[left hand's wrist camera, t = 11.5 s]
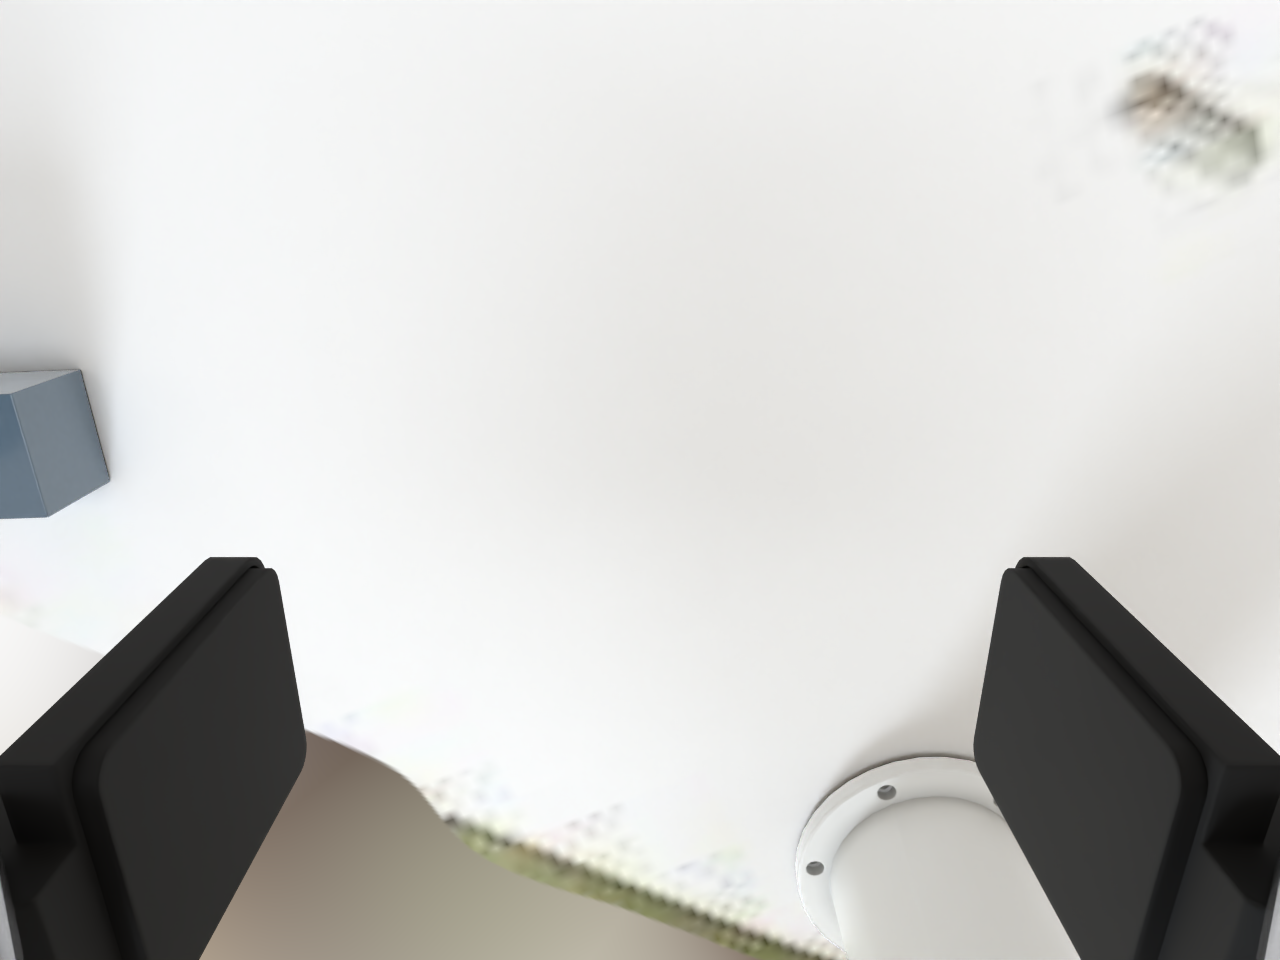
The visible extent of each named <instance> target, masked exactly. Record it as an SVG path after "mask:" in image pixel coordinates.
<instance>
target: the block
mask: <svg viewBox="0 0 1280 960" xmlns="http://www.w3.org/2000/svg"><path fill="white" fill-rule="evenodd" d="M108 482H110V479H109V476H108V472H107V468H106V464H105V461H104V457H103V453H102V449H101V446H100V442H99V438H98V434H97V431H96V427H95V423H94V420H93V416H92V412H91V408H90V405H89V401H88V397H87V393H86V390H85V386H84V382H83V378H82V375H81V371H80V370H57V371H31V372H4V373H0V519H16V518H45V517H49V516H51V515H53V514H55V513H56V512H58V511H60V510H62V509H63V508H65V507H67V506H69V505H70V504H72V503H74V502H75V501H77V500H79V499H81V498H82V497H84V496H86V495H88V494H89V493H91V492H93V491H95V490H96V489H98V488H100V487H101V486H103V485H105V484H107V483H108Z"/></svg>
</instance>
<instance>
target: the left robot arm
mask: <svg viewBox="0 0 1280 960" xmlns="http://www.w3.org/2000/svg"><path fill="white" fill-rule="evenodd" d="M305 757H306V736H305V730H304V724H303V719H302V713H301V707H300V701H299V695H298V689H297V684H296V678H295V672H294V666H293V660H292V655H291V649H290V643H289V637H288V631H287V626H286V620H285V614H284V608H283V602H282V597H281V591H280V585H279V580H278V576H277V574H276V572H275V570H273V569H272V568H264V565H263V564H262V562H261V560H259V559H258V558H257V557H210V558H208V559H207V560H205V561H204V562H203V563H202V564H201V565H200V566H199V567H198V568H197V569H196V570H195V571H194V572H192V573H191V574H190V575H189V576H188V577H187V578H186V579H185V580H184V581H183V582H182V583H181V584H180V585H179V586H178V587H177V588H176V589H175V590H174V591H173V592H171V593H170V594H169V595H168V596H167V597H166V598H165V599H164V600H163V601H162V602H161V603H160V604H159V605H158V606H157V607H156V608H155V609H154V610H153V611H152V612H150V613H149V614H148V615H147V616H146V617H145V618H144V619H143V620H142V621H141V622H140V623H139V624H138V625H137V626H136V627H135V628H134V629H133V630H132V631H131V632H130V633H128V634H127V635H126V636H125V637H124V638H123V639H122V640H121V641H120V642H119V643H118V644H117V645H116V646H115V647H114V648H113V649H112V650H111V651H110V652H109V653H107V654H106V655H105V656H104V657H103V658H102V659H101V660H100V661H99V662H98V663H97V664H96V665H95V666H94V667H93V668H92V669H91V670H90V671H89V672H88V673H86V674H85V675H84V676H83V677H82V678H81V679H80V680H79V681H78V682H77V683H76V684H75V685H74V686H73V687H72V688H71V689H70V690H69V691H68V692H67V693H66V694H64V695H63V696H62V697H61V698H60V699H59V700H58V701H57V702H56V703H55V704H54V705H53V706H52V707H51V708H50V709H49V710H48V711H47V712H46V713H45V714H44V715H42V716H41V717H40V718H39V719H38V720H37V721H36V722H35V723H34V724H33V725H32V726H31V727H30V728H29V729H28V730H27V731H26V732H25V733H24V734H23V735H21V737H19V738H18V739H17V740H16V741H15V742H14V743H13V744H12V745H11V746H10V747H9V748H8V749H7V750H6V751H5V752H4V753H3V754H2V755H0V960H199V959H200V957H201V955H202V953H203V951H204V950H205V948H206V946H207V944H208V942H209V940H210V939H211V937H212V935H213V933H214V931H215V929H216V927H217V926H218V924H219V922H220V920H221V918H222V916H223V915H224V913H225V911H226V909H227V907H228V905H229V903H230V902H231V900H232V898H233V896H234V894H235V892H236V891H237V889H238V887H239V885H240V883H241V881H242V880H243V878H244V876H245V874H246V872H247V870H248V868H249V867H250V865H251V863H252V861H253V859H254V857H255V855H256V854H257V852H258V850H259V848H260V846H261V844H262V842H263V841H264V839H265V837H266V835H267V833H268V832H269V830H270V828H271V826H272V824H273V822H274V820H275V819H276V817H277V815H278V813H279V811H280V809H281V807H282V806H283V804H284V802H285V800H286V798H287V796H288V795H289V793H290V791H291V789H292V787H293V785H294V784H295V782H296V780H297V778H298V776H299V774H300V772H301V770H302V768H303V765H304V762H305ZM974 757H975V762H973V761H970V760H963V759H956V758H949V757H918V758H913V759H907V760H901V761H895V762H892V763H889V764H886V765H883V766H880V767H877V768H874V769H871V770H869V771H867V772H865V773H863V774H861V775H859V776H857V777H856V778H854V779H852V780H850V781H848V782H847V783H845V784H844V785H843V786H841V787H840V788H839V789H837V790H836V791H835V792H834V793H832V794H831V795H830V796H829V797H828V798H827V799H826V800H825V801H824V802H823V803H822V804H821V805H820V806H819V808H818V809H817V810H816V811H815V812H814V813H813V815H812V817H811V818H810V820H809V822H808V823H807V825H806V827H805V828H804V830H803V832H802V835H801V838H800V841H799V844H798V847H797V852H796V862H795V872H796V878H797V885H798V890H799V894H800V898H801V901H802V905H803V908H804V910H805V912H806V913H807V915H808V917H809V919H810V921H811V922H812V924H813V925H814V926H815V927H816V929H817V930H818V931H819V932H820V933H821V934H822V935H823V936H824V937H825V939H827V940H828V941H830V942H831V943H832V944H834V945H835V946H836V947H838V948H839V949H840V950H842V951H844V952H846V955H847V959H848V960H1280V755H1278V754H1277V753H1276V752H1275V751H1274V750H1273V749H1272V748H1271V747H1270V746H1269V745H1268V744H1267V743H1266V742H1265V741H1264V740H1263V739H1262V738H1261V737H1260V736H1259V735H1258V734H1256V733H1255V732H1254V731H1253V730H1252V729H1251V728H1250V727H1249V726H1248V725H1247V724H1246V723H1245V722H1244V721H1243V720H1242V719H1241V718H1240V717H1239V716H1238V715H1237V714H1235V713H1234V712H1233V711H1232V710H1231V709H1230V708H1229V707H1228V706H1227V705H1226V704H1225V703H1224V702H1223V701H1222V700H1221V699H1220V698H1219V697H1218V696H1217V695H1216V694H1214V693H1213V692H1212V691H1211V690H1210V689H1209V688H1208V687H1207V686H1206V685H1205V684H1204V683H1203V682H1202V681H1201V680H1200V679H1199V678H1198V677H1197V676H1196V675H1195V674H1194V673H1192V672H1191V671H1190V670H1189V669H1188V668H1187V667H1186V666H1185V665H1184V664H1183V663H1182V662H1181V661H1180V660H1179V659H1178V658H1177V657H1176V656H1175V655H1174V654H1173V653H1171V652H1170V651H1169V650H1168V649H1167V648H1166V647H1165V646H1164V645H1163V644H1162V643H1161V642H1160V641H1159V640H1158V639H1157V638H1156V637H1155V636H1154V635H1153V634H1152V633H1150V632H1149V631H1148V630H1147V629H1146V628H1145V627H1144V626H1143V625H1142V624H1141V623H1140V622H1139V621H1138V620H1137V619H1136V618H1135V617H1134V616H1133V615H1132V614H1131V613H1130V612H1128V611H1127V610H1126V609H1125V608H1124V607H1123V606H1122V605H1121V604H1120V603H1119V602H1118V601H1117V600H1116V599H1115V598H1114V597H1113V596H1112V595H1111V594H1110V593H1109V592H1107V591H1106V590H1105V589H1104V588H1103V587H1102V586H1101V585H1100V584H1099V583H1098V582H1097V581H1096V580H1095V579H1094V578H1093V577H1092V576H1091V575H1090V574H1089V573H1088V572H1086V571H1085V570H1084V569H1083V568H1082V567H1081V566H1080V565H1079V564H1078V563H1077V562H1076V561H1075V560H1073V559H1072V558H1070V557H1023V558H1022V559H1021V560H1019V562H1018V564H1017V565H1016V568H1008V569H1007V570H1005V572H1004V574H1003V576H1002V580H1001V585H1000V591H999V596H998V602H997V608H996V614H995V620H994V626H993V631H992V637H991V643H990V649H989V655H988V660H987V666H986V672H985V678H984V684H983V689H982V695H981V701H980V707H979V713H978V718H977V724H976V730H975V736H974Z"/></svg>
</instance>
